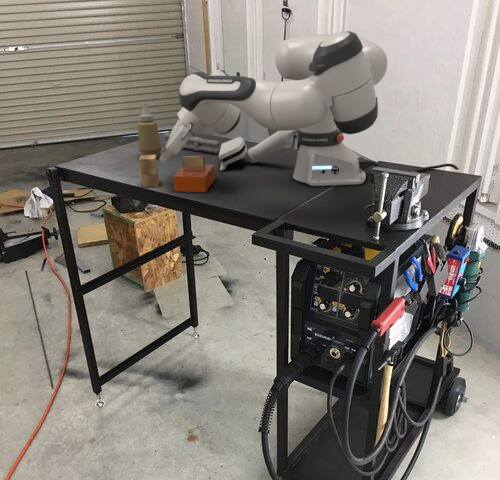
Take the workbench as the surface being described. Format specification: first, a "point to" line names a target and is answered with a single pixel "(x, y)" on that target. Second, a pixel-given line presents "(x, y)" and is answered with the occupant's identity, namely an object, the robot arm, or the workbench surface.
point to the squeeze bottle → (148, 134)
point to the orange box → (194, 180)
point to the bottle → (270, 145)
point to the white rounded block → (232, 151)
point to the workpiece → (149, 170)
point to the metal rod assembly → (199, 144)
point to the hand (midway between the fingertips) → (162, 156)
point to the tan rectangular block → (193, 163)
